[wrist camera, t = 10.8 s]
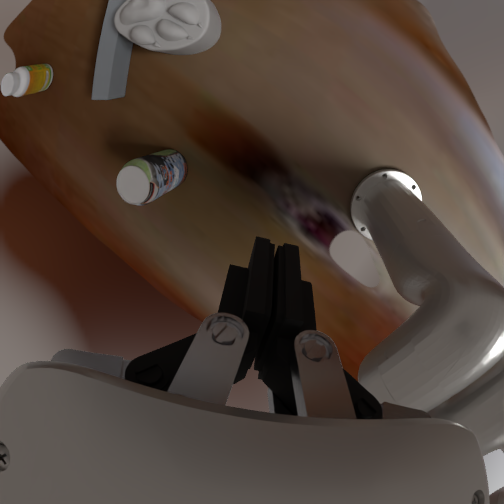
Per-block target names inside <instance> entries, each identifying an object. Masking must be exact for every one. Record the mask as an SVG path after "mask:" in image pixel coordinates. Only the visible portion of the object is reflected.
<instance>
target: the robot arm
mask: <svg viewBox="0 0 504 504" xmlns="http://www.w3.org/2000/svg"><path fill="white" fill-rule="evenodd" d="M383 174H384V175H383ZM382 175H383V176H382ZM357 196H359V197H357ZM350 212H351V217H352V220H353V223H354V225H355V226H356V228H357V230H358V231H359V232H360V233H361V234H362V235H363V236H365V237H366V238H368V239H370V240H373V241H374V243H375V246H376V248H377V250H378V252H379V254H380V256H381V258H382V260H383V262H384V265H385V267H386V269H387V271H388V273H389V276H390V278H391V280H392V282H393V284H394V287H395V288H396V290H397V292H398V293H399V294H400V295H401V296H402V297H403V298H404V299H405V300H407V301H409V302H410V303H413V304H415V305H418V306H420V307H419V308H418V309H417V310H416V311H415V312H414V313H413V314H412V315H411V316H410V317H409V319H408V320H406V321H405V322H404V323H403V324H402V325H401V326H400V327H398V328H397V329H396V330H395V331H394V332H393V333H391V334H390V335H389V336H388V337H387V338H385V339H384V340H383V341H382V342H381V343H380V344H378V345H377V346H376V347H375V348H374V349H373V350H372V351H370V352H369V353H368V355H367V356H366V357H365V358H364V360H363V361H362V363H361V365H360V368H359V372H358V381H359V382H357V381H356V380H355V379H354V378H353V377H352V376H351V375H350V374H349V373H348V372H346V371H345V370H344V369H343V368H342V365H341V361H340V358H339V354H338V351H337V348H336V346H335V344H334V342H333V341H332V340H331V338H330V337H328V336H327V335H326V334H324V333H322V332H319V331H316V320H315V310H314V301H313V291H312V284H311V283H310V282H307V281H302V280H301V270H300V257H299V247H298V246H295V245H291V244H287V243H284V245H283V246H278V248H277V251H276V254H275V257H274V249H275V244H271V243H270V239H265V238H261V237H257V236H256V239H255V243H254V247H253V251H252V254H251V258H250V262H249V266H248V268H244V267H239V266H235V265H230V266H229V270H228V274H227V278H226V282H225V286H224V290H223V294H222V298H221V302H220V306H219V310H218V313H215V314H211V315H210V316H208V317H207V318H206V319H205V320H204V321H203V322H202V324H201V326H200V328H199V330H198V332H197V333H196V334H194V335H191V336H189V337H186V338H184V339H182V340H179V341H177V342H174V343H172V344H169V345H167V346H165V347H162V348H160V349H157V350H155V351H152V352H150V353H147V354H144V355H142V356H139V357H137V358H135V359H134V360H132V361H130V360H123V357H120V356H113V355H105V354H98V353H91V352H85V351H79V350H73V349H64V350H61V351H59V352H57V353H56V354H55V355H54V356H53V358H52V360H51V361H37V362H30V363H26V364H23V365H21V366H19V367H18V368H16V369H15V370H14V371H13V372H12V373H11V374H10V375H9V376H8V377H7V379H6V380H5V381H4V383H3V384H2V386H1V387H0V504H504V487H502V488H500V489H499V490H497V491H495V492H494V493H492V494H491V495H490V496H489V489H488V481H487V475H486V469H485V464H484V460H483V456H484V455H486V454H488V453H490V452H492V451H494V450H497V449H501V450H502V451H503V452H504V287H503V286H502V285H501V284H500V283H499V282H498V281H497V280H496V279H495V278H494V277H493V276H492V275H490V274H489V273H488V272H487V271H486V270H485V269H484V268H483V267H482V266H481V265H480V264H479V263H478V262H477V261H476V260H475V259H474V258H473V257H472V256H471V255H470V254H469V253H468V252H467V251H466V250H465V248H464V247H463V246H462V245H461V244H460V243H459V242H458V241H457V239H456V238H455V237H454V236H453V235H452V233H451V232H450V231H449V230H448V229H447V228H446V227H445V226H444V225H443V223H442V222H441V221H440V220H439V219H438V218H437V217H436V216H435V215H434V214H433V212H432V211H431V210H430V209H429V208H428V207H427V206H426V205H425V204H424V203H423V202H422V195H421V191H420V189H419V187H418V185H417V184H416V182H415V181H414V180H413V179H412V178H411V177H410V176H409V175H407V174H406V173H404V172H402V171H400V170H396V169H382V170H378V171H375V172H373V173H371V174H370V175H368V176H367V177H365V178H364V179H363V180H362V181H361V182H360V183H359V185H358V186H357V188H356V189H355V191H354V193H353V196H352V199H351V204H350ZM361 227H362V228H361ZM254 358H255V363H254V370H258V371H259V374H258V379H262V380H263V382H264V383H265V384H266V385H267V386H268V387H269V388H268V402H269V413H267V412H259V411H254V410H247V409H241V408H235V407H230V406H225V405H226V402H227V399H228V396H229V394H230V391H231V388H232V385H233V384H235V383H237V382H238V381H240V380H242V379H244V378H245V376H246V373H247V370H248V369H250V367H251V365H252V362H253V360H254Z"/></svg>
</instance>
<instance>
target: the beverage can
mask: <svg viewBox="0 0 504 504" xmlns="http://www.w3.org/2000/svg"><path fill="white" fill-rule="evenodd" d="M187 172H188V167H187V163H186V160H185V158H184V157H183V156H182V155H181V154H180V153H179V152H177V151H175V150H170V149H168V150H163V151H160V152H156V153H153V154H150V155H146V156H143V157H140V158H137V159H133V160H131V161H129V162H127V163H126V164H125V165H124V166H123V168H122V169H121V171H120V173H119V174H118V177H117V190H118V192H119V194H120V196H121V198H122V199H123V200H124V201H126V202H127V203H130V204H135V205H146V204H148V203H150V202H152V201H153V200H155V199H157V198H158V197H160V196H162V195H163V194H165V193H167V192H168V191H170V190H172V189H174V188H175V187H177V186H179V185H180V184H182V182H183V181H184V180H185V178H186V176H187Z"/></svg>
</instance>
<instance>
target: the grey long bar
mask: <svg viewBox="0 0 504 504" xmlns="http://www.w3.org/2000/svg"><path fill="white" fill-rule="evenodd" d="M125 1H126V0H109V2H108V6H107V10H106V14H105V18H104V23H103V27H102V32H101V37H100V42H99V47H98V53H97V59H96V66H95V73H94V81H93V90H92V100H110V99H115V98H120V97H125V90H126V82H127V76H128V69H129V63H130V57H131V52H132V46H133V42H132V41H130V40H128V39H127V38H126V37H124V36H123V35H122V34H120V33H119V32H118V30H117V29H116V27H115V23H114V17H115V14H116V12H117V10H118V9H119V8H120V7H121V5H122V4H123V3H124V2H125Z"/></svg>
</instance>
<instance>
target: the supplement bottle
mask: <svg viewBox="0 0 504 504" xmlns="http://www.w3.org/2000/svg"><path fill="white" fill-rule="evenodd" d="M52 78H53V70H52V68H51V66H50V65H49V64H38V65H30V66H23V67H19V68H17V69H16V70H15V71H14V72H11V73H7V74H6V75H5V76H4V77H3V79H2V82H1V92H2V94H3V95H4V96H9V95H13V96H15V97H19V96H23V95H27V94H32V93H36V92H40V91H44V90H46V89H47V88H48V87H49V86H50V84H51V82H52Z"/></svg>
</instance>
